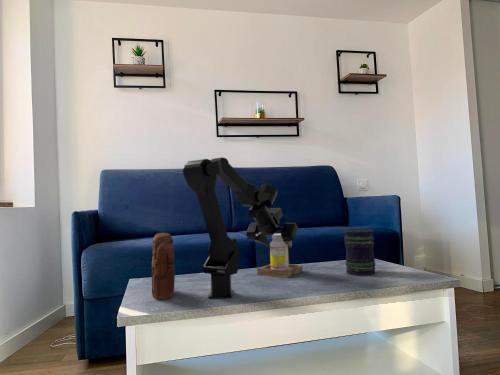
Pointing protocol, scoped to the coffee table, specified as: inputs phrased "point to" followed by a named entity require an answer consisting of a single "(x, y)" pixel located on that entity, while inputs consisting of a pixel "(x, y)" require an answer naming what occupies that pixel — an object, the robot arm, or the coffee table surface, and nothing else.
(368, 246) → the storage jar
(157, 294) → the wooden figurine
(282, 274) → the walnut tray
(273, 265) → the supplement bottle
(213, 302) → the coffee table surface
